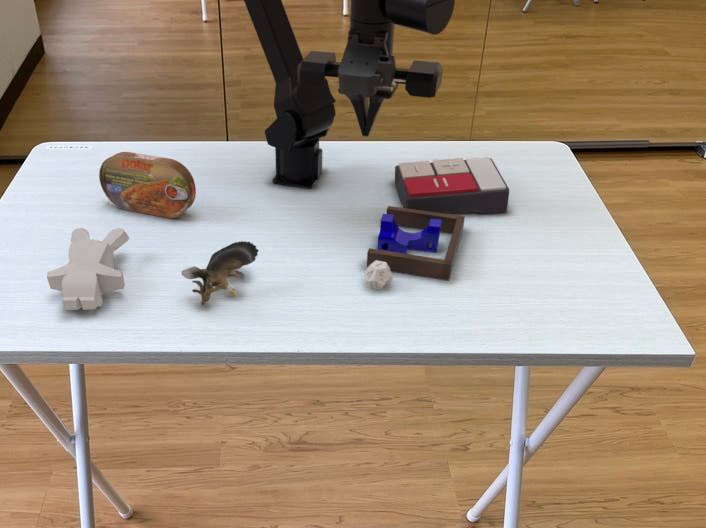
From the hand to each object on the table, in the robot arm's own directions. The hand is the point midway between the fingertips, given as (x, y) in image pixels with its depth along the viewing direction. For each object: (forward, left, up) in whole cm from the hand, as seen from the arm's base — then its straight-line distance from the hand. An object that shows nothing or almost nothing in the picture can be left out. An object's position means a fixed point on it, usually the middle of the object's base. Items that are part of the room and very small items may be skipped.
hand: (366, 135), depth 109 cm
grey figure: (-29, -30, -11) cm, 43 cm away
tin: (-30, -10, -11) cm, 34 cm away
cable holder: (+9, -10, -11) cm, 18 cm away
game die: (+7, -20, -11) cm, 24 cm away
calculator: (+12, +6, -11) cm, 18 cm away
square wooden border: (+9, -10, -11) cm, 18 cm away
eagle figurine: (-12, -27, -11) cm, 32 cm away
